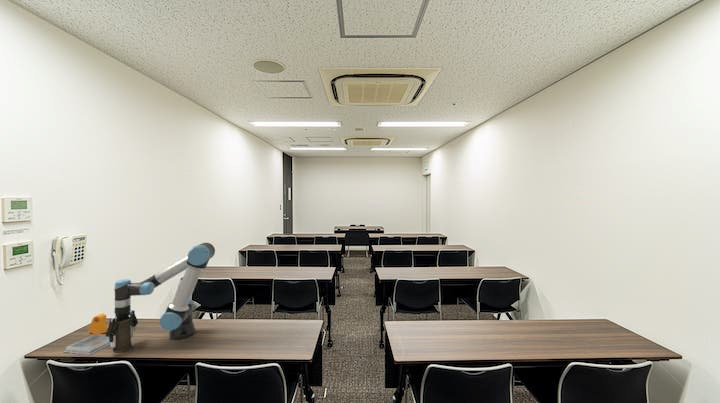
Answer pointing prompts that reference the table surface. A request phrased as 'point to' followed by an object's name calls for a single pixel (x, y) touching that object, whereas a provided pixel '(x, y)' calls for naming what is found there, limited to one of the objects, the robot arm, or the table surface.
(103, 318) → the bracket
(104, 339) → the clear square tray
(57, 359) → the table surface
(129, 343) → the container
